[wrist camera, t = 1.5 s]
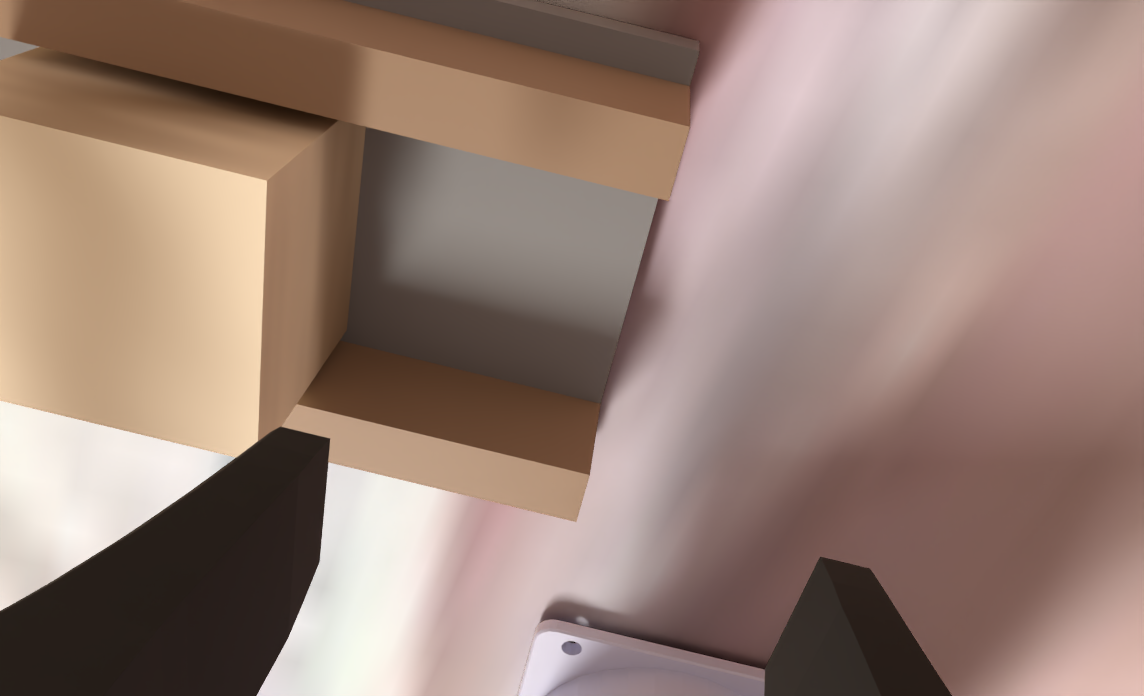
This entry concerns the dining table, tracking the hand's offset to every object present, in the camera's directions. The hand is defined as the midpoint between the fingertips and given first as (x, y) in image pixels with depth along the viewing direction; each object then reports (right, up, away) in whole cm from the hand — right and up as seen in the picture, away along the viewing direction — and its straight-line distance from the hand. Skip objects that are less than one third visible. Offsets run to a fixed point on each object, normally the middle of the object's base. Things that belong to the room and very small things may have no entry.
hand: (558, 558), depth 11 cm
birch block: (-6, +6, +6) cm, 11 cm away
